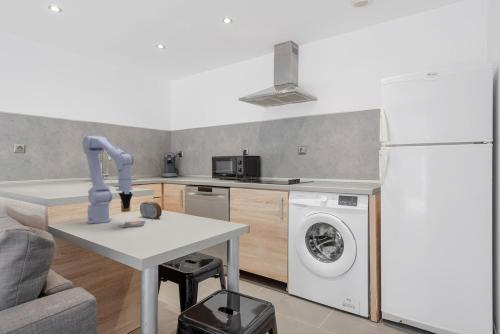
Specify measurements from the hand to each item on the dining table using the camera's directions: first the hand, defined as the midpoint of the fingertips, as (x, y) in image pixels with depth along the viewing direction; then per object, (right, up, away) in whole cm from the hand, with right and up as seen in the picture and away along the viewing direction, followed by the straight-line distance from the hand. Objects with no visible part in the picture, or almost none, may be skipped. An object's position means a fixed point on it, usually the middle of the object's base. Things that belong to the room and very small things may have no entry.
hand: (126, 207), depth 133 cm
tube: (0, -2, 0) cm, 2 cm away
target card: (+3, -8, +1) cm, 9 cm away
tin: (+5, -8, +18) cm, 20 cm away
